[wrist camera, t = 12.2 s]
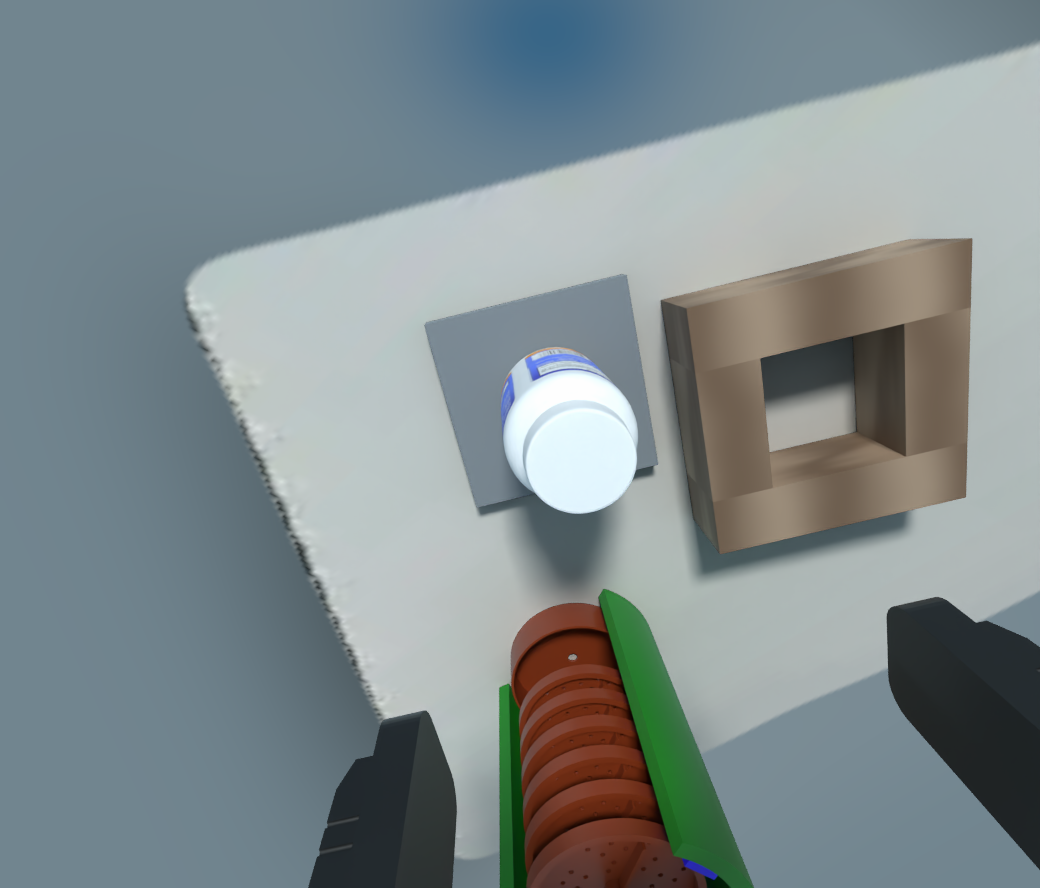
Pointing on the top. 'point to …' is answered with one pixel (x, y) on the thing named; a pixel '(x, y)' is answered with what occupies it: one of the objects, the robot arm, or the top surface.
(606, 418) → the pill bottle
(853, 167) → the top surface
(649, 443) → the mat
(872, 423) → the socket block
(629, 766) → the green brown cylinder
